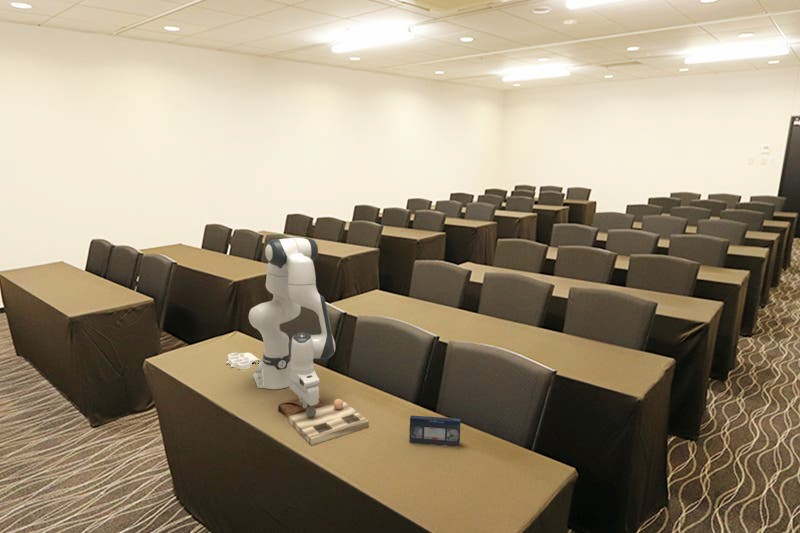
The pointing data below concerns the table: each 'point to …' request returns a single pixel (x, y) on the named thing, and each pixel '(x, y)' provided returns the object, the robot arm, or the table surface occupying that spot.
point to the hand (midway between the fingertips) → (303, 406)
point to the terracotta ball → (338, 404)
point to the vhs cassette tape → (434, 430)
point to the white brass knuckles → (241, 360)
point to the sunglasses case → (295, 407)
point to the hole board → (328, 423)
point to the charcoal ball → (310, 411)
